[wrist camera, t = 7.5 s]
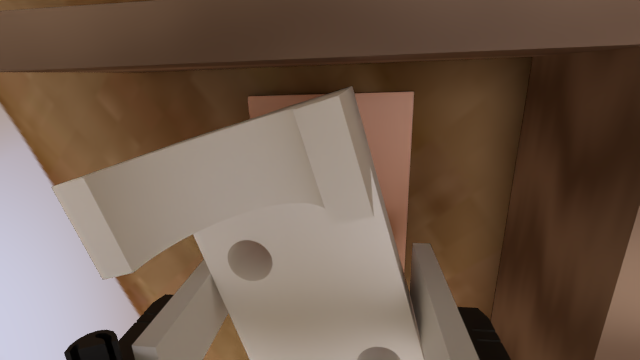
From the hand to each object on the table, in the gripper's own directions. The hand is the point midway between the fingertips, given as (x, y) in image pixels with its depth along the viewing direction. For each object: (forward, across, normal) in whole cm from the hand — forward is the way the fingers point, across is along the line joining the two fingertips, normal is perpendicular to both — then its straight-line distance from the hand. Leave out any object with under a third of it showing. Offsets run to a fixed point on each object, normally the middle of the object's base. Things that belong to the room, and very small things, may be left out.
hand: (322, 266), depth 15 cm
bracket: (+1, 0, +1) cm, 1 cm away
